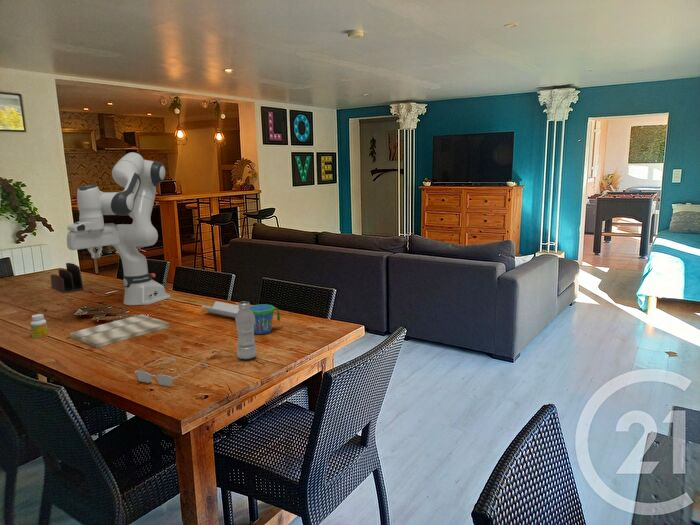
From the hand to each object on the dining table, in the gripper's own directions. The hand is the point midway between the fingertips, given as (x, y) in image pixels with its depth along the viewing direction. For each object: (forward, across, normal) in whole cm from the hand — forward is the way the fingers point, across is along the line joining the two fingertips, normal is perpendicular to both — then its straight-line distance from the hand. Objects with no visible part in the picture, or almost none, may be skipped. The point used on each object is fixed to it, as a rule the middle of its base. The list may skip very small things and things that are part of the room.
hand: (96, 257), depth 207 cm
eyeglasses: (+30, +11, +71) cm, 78 cm away
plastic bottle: (+29, -11, +81) cm, 87 cm away
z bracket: (+30, -41, +36) cm, 62 cm away
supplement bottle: (+29, +24, -2) cm, 38 cm away
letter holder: (+29, -19, -83) cm, 90 cm away
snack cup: (+29, -33, +64) cm, 78 cm away
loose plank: (+28, +2, +24) cm, 37 cm away
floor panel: (+29, +2, +19) cm, 35 cm away
